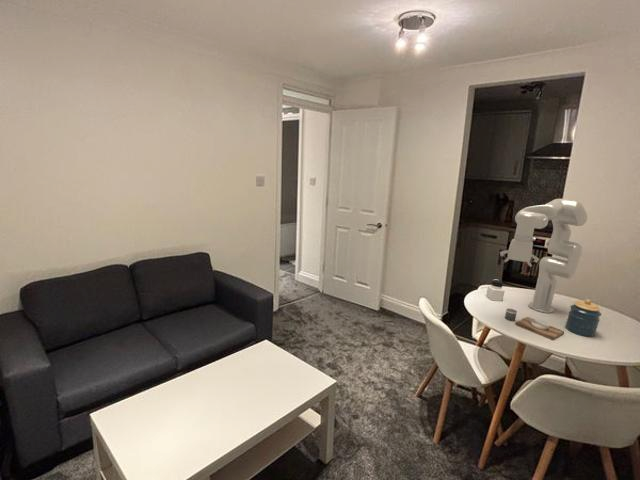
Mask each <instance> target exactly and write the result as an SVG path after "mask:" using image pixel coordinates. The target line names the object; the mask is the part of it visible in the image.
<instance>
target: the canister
mask: <svg viewBox="0 0 640 480" xmlns="http://www.w3.org/2000/svg"><path fill="white" fill-rule="evenodd" d="M569 307H570V310H569V311H568V315H567V318H566V322H565V329H567V330H568V331H569V332H571V333H574V334H576V335H579V336H583V337H588V338H589V337H594V336H596V334H597V329H598V326H599V322H600V317H601V315H602V312H600V311H601V307H599V306H598V305H597V304H596V303H593V302H592V300H591V299H588V298H587V299H585V300H581V299H580V300H575V301H573V304H571V305H570V306H569Z"/></svg>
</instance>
